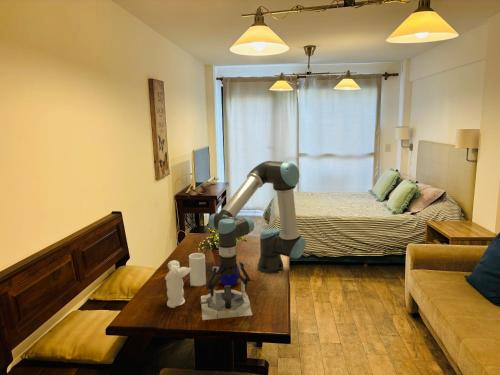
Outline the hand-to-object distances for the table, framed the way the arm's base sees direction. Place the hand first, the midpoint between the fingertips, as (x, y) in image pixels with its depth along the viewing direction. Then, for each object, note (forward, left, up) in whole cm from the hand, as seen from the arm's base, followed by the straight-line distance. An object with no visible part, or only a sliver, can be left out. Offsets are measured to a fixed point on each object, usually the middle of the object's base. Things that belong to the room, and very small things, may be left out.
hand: (228, 299), depth 163 cm
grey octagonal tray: (+1, -6, -7) cm, 9 cm away
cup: (+13, -32, -7) cm, 35 cm away
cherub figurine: (+22, -13, -7) cm, 27 cm away
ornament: (-3, -28, -7) cm, 29 cm away
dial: (+1, -6, -6) cm, 8 cm away
